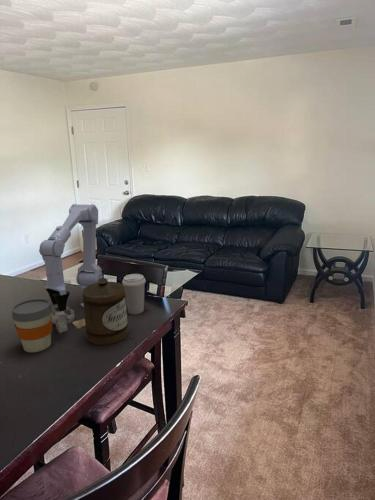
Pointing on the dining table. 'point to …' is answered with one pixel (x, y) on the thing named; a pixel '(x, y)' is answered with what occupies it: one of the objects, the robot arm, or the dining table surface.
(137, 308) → the coffee cup
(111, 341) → the wooden container
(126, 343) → the dining table surface
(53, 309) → the open square box
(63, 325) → the grey block
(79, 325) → the coaster
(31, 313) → the reusable coffee cup
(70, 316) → the grey frying pan
